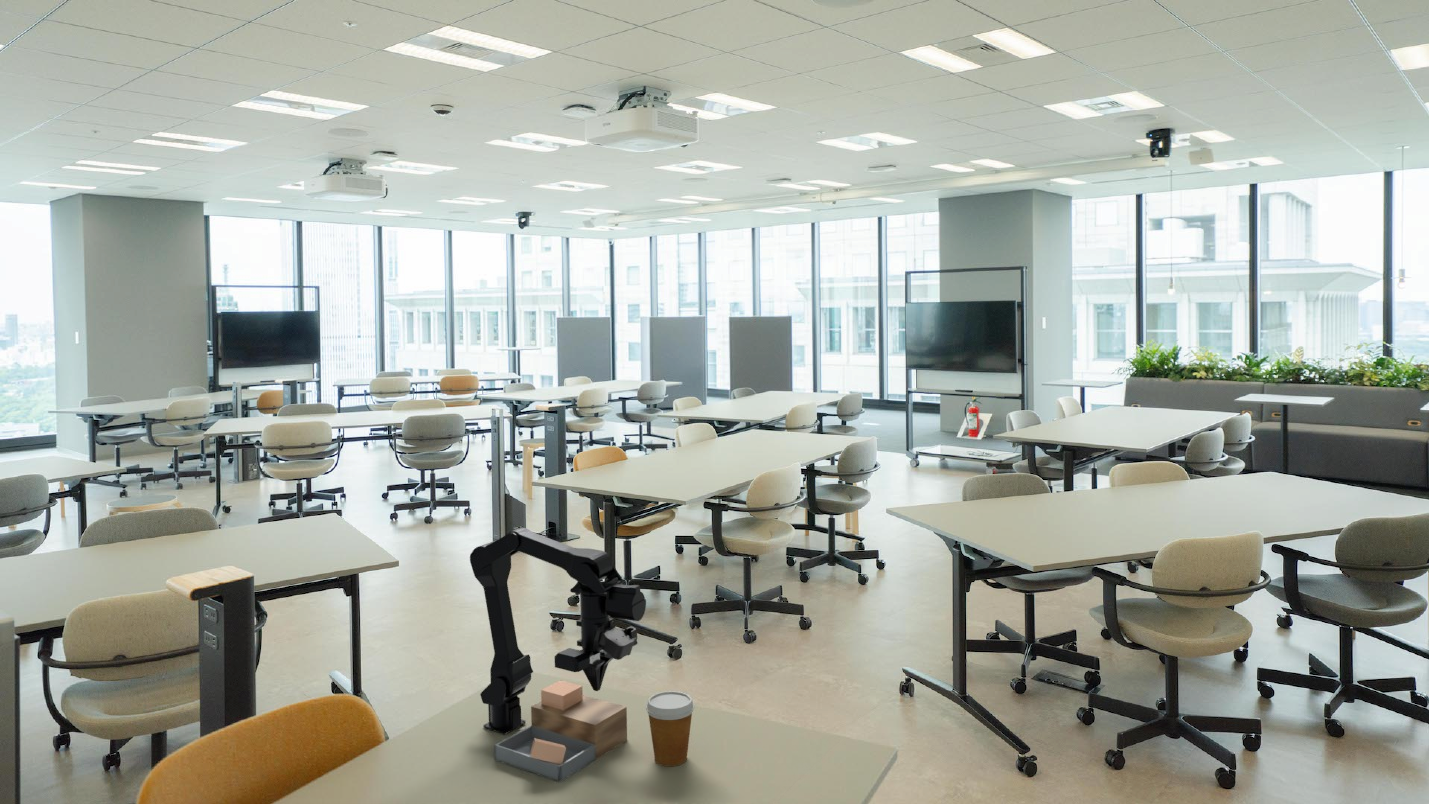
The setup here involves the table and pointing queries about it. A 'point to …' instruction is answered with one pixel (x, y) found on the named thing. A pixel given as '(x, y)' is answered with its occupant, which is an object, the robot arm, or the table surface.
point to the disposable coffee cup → (670, 726)
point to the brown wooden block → (585, 722)
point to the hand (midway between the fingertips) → (596, 690)
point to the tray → (518, 756)
